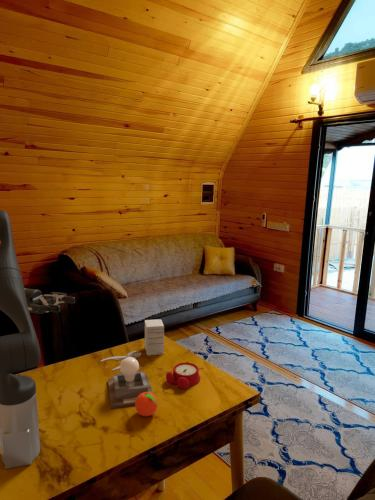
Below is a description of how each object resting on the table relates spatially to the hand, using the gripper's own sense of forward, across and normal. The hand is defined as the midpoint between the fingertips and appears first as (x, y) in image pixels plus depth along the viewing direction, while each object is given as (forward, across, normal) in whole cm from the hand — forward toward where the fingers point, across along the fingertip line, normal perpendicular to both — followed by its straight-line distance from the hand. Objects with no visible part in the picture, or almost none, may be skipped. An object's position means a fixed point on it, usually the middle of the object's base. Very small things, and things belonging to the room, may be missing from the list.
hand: (67, 304), depth 122 cm
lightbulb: (+20, +4, +29) cm, 36 cm away
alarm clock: (+36, +15, +30) cm, 49 cm away
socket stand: (+20, +4, +30) cm, 36 cm away
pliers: (+9, +23, +31) cm, 39 cm away
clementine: (+30, -6, +30) cm, 43 cm away
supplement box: (+18, +34, +30) cm, 49 cm away
